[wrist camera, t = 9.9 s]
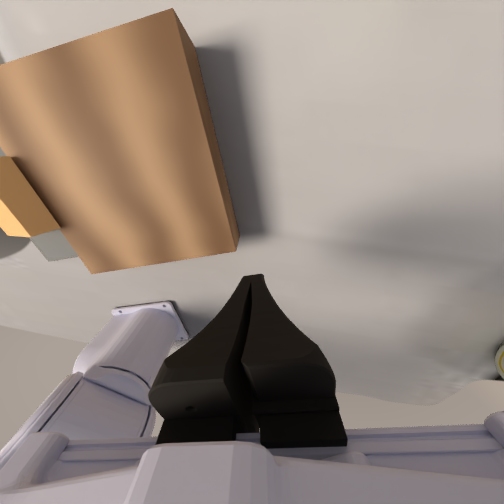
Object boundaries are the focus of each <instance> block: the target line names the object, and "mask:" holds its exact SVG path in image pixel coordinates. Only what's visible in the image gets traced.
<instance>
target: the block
mask: <svg viewBox="0 0 504 504" xmlns="http://www.w3.org/2000/svg"><path fill="white" fill-rule="evenodd" d="M0 227H1V228H2V229H3V230H4V231H5V232H6V234H7V235H9V236H23V237H33V236H37V235H40V234H43V233H46V232H50V231H53V230H56V229H60V226H59V225H58V223H57V222H56V221H55V219H54V218H53V216H52V215H51V214H50V212H49V211H48V209H47V208H46V207H45V205H44V204H43V202H42V201H41V199H40V198H39V197H38V195H37V194H36V192H35V191H34V190H33V188H32V187H31V185H30V184H29V183H28V181H27V180H26V178H25V177H24V176H23V174H22V173H21V171H20V170H19V169H18V167H17V166H16V164H15V163H14V162H13V160H12V159H11V157H10V156H2V157H0Z"/></svg>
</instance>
